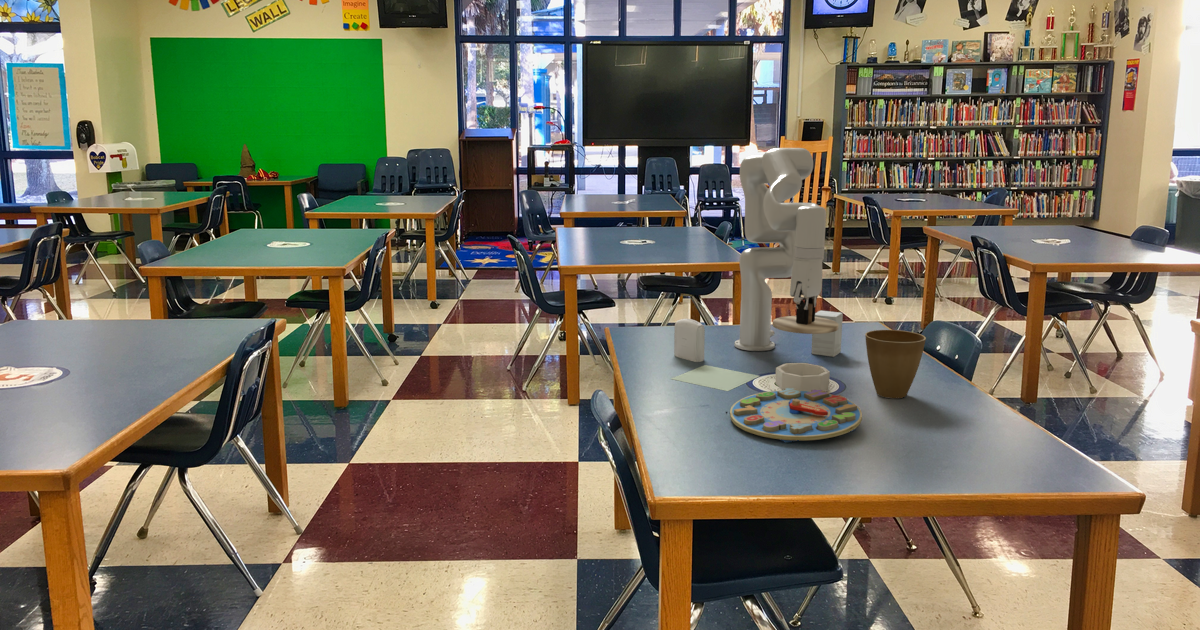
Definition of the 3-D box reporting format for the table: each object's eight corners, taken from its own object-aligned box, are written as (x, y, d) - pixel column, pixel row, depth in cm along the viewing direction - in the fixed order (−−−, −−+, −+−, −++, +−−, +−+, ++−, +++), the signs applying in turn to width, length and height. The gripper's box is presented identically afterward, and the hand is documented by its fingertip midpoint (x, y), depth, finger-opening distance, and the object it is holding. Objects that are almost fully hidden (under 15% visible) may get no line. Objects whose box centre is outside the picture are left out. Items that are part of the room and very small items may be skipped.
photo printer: (671, 357, 267) (672, 317, 264) (681, 355, 270) (682, 315, 267) (696, 364, 259) (697, 323, 257) (706, 362, 262) (707, 321, 259)
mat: (704, 366, 257) (704, 364, 256) (760, 377, 246) (760, 375, 246) (670, 380, 243) (670, 378, 243) (727, 393, 232) (727, 391, 232)
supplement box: (841, 352, 274) (844, 312, 271) (833, 357, 267) (836, 316, 265) (818, 348, 277) (820, 309, 275) (810, 354, 271) (812, 314, 269)
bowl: (790, 377, 246) (791, 360, 245) (834, 386, 238) (835, 368, 237) (768, 388, 236) (769, 370, 235) (813, 398, 228) (815, 379, 227)
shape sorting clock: (706, 412, 218) (706, 389, 216) (808, 397, 230) (809, 375, 228) (777, 455, 190) (778, 428, 189) (889, 435, 202) (891, 410, 201)
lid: (790, 316, 245) (791, 295, 244) (848, 325, 235) (850, 303, 234) (761, 327, 232) (762, 305, 231) (821, 337, 222) (823, 313, 220)
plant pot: (929, 393, 232) (935, 335, 228) (906, 407, 221) (911, 345, 218) (876, 382, 242) (880, 326, 238) (851, 394, 231) (855, 335, 227)
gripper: (809, 249, 238) (805, 315, 242) (781, 255, 225) (778, 326, 229) (835, 251, 233) (831, 319, 237) (808, 258, 221) (804, 330, 225)
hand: (805, 321), depth 233 cm, fingers closed on lid, 3 cm apart
